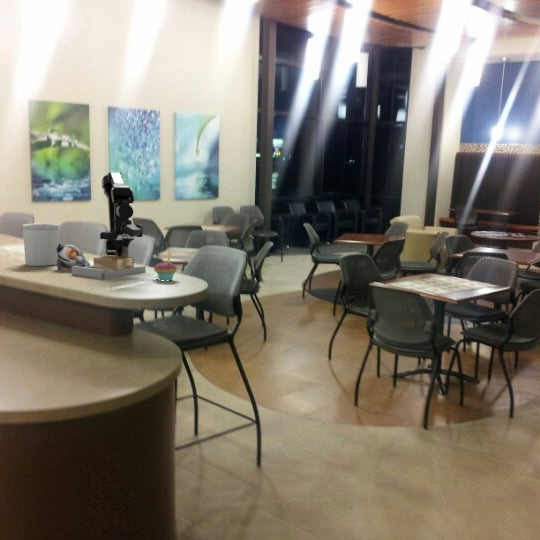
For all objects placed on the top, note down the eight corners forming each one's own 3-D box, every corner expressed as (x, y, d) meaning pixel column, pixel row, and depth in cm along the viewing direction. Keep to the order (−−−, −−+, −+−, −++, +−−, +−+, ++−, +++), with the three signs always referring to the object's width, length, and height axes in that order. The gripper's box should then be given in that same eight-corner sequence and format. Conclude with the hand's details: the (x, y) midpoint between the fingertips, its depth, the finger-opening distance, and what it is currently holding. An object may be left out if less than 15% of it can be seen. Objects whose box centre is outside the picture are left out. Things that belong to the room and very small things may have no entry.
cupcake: (180, 279, 231) (180, 249, 229) (170, 283, 223) (170, 251, 221) (161, 277, 234) (161, 247, 232) (150, 281, 226) (150, 250, 224)
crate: (113, 269, 243) (112, 245, 242) (134, 272, 238) (134, 247, 236) (93, 272, 234) (93, 247, 233) (116, 275, 228) (115, 250, 227)
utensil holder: (16, 264, 255) (14, 224, 252) (41, 260, 269) (40, 222, 266) (42, 267, 250) (41, 226, 247) (66, 263, 263) (66, 224, 261)
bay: (114, 270, 248) (114, 259, 247) (145, 274, 240) (145, 263, 239) (71, 277, 228) (71, 266, 227) (104, 282, 220) (103, 270, 219)
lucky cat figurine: (97, 269, 249) (94, 242, 240) (76, 283, 240) (73, 256, 232) (70, 256, 254) (67, 229, 245) (49, 270, 245) (45, 243, 237)
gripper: (119, 219, 224) (120, 259, 227) (152, 217, 240) (152, 255, 243) (98, 217, 230) (99, 257, 232) (132, 216, 246) (132, 253, 248)
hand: (121, 255), depth 239 cm, fingers closed on crate, 2 cm apart
